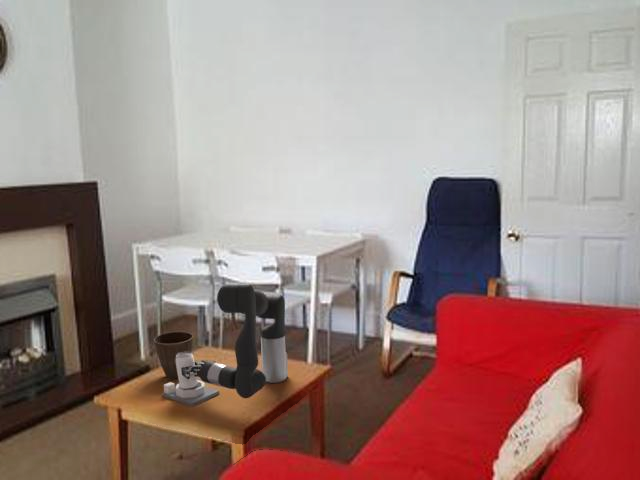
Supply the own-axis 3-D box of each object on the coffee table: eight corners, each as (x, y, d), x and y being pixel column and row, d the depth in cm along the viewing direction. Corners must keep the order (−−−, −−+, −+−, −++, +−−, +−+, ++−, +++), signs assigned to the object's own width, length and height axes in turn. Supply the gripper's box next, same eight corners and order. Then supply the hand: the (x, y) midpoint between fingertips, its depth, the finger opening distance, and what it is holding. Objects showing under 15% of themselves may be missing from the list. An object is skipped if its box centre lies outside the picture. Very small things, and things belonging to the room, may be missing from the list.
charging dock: (189, 384, 235) (189, 374, 234) (219, 394, 225) (218, 383, 224) (162, 396, 224) (161, 385, 224) (191, 406, 215) (191, 395, 214)
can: (196, 387, 220) (191, 355, 218) (178, 390, 220) (173, 358, 218) (198, 381, 227) (193, 349, 225) (181, 383, 226) (176, 352, 224)
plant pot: (186, 384, 234) (183, 344, 232) (149, 382, 237) (147, 342, 235) (201, 370, 249) (199, 332, 246) (166, 368, 252) (164, 331, 249)
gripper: (230, 357, 219) (197, 349, 229) (200, 369, 208) (167, 360, 218) (231, 377, 220) (199, 368, 231) (201, 390, 209) (168, 380, 219)
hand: (183, 364), depth 224 cm, fingers closed on can, 4 cm apart
